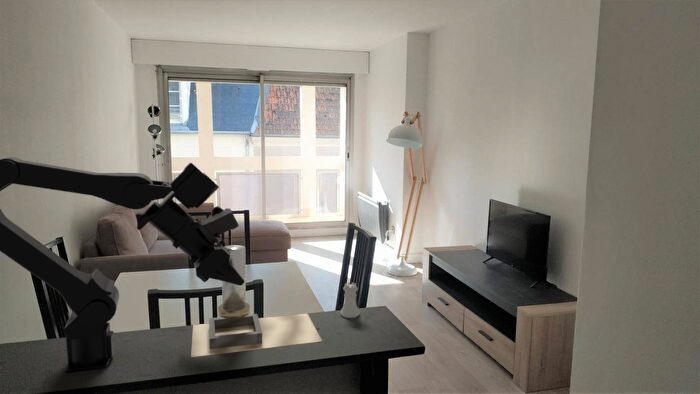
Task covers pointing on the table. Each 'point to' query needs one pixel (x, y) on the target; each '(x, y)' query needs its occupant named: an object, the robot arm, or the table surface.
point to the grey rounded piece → (235, 288)
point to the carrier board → (251, 334)
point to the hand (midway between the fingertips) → (241, 279)
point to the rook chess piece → (350, 301)
